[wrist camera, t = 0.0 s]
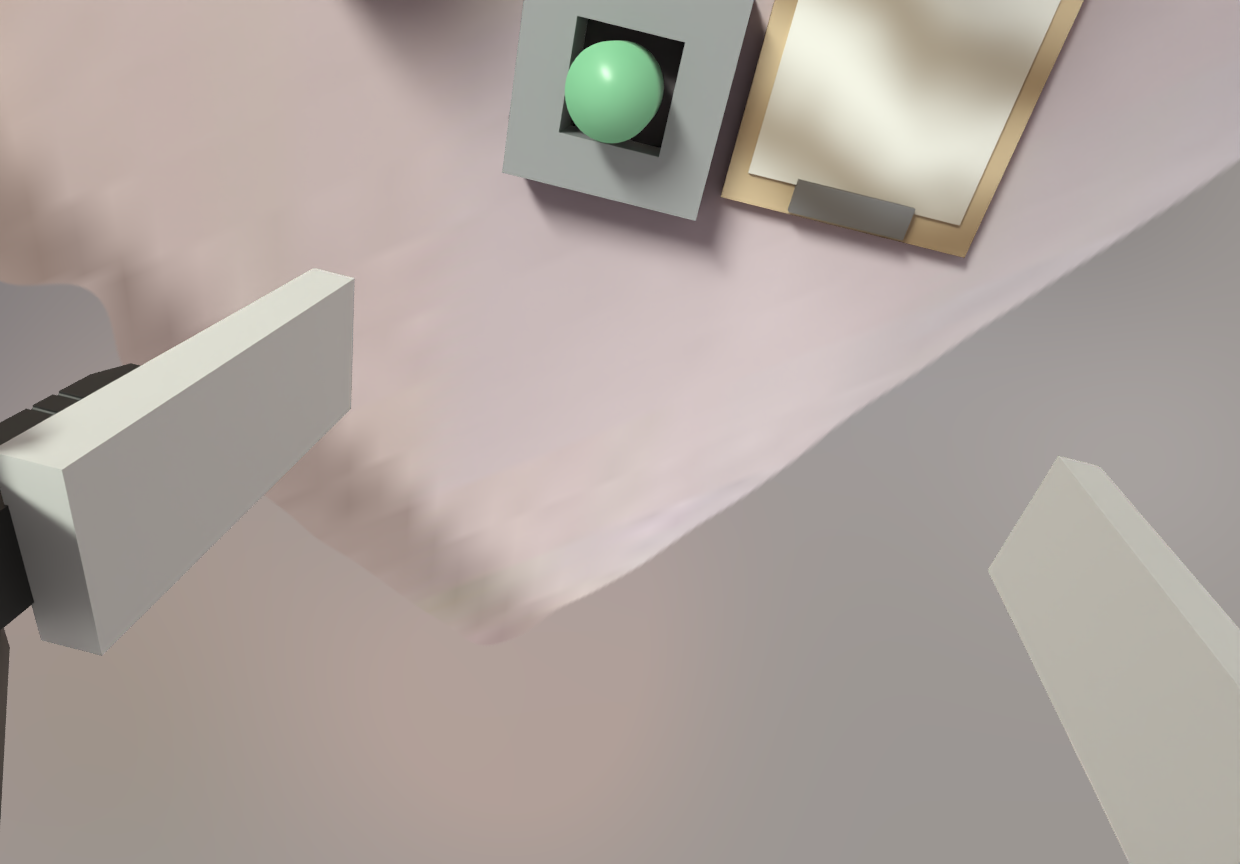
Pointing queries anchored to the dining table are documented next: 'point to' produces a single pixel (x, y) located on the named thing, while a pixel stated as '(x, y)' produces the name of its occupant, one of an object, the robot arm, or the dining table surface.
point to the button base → (627, 171)
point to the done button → (614, 90)
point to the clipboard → (893, 111)
